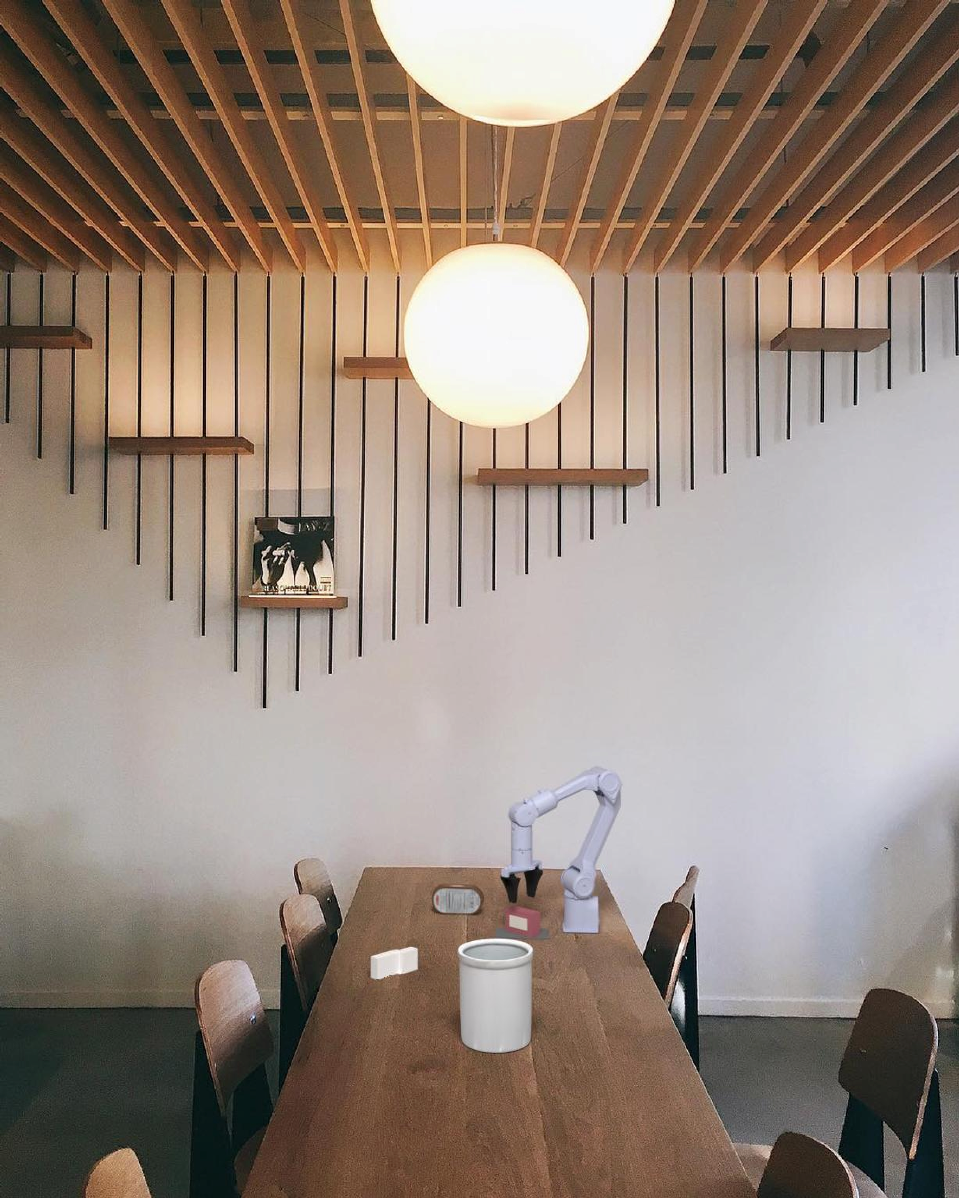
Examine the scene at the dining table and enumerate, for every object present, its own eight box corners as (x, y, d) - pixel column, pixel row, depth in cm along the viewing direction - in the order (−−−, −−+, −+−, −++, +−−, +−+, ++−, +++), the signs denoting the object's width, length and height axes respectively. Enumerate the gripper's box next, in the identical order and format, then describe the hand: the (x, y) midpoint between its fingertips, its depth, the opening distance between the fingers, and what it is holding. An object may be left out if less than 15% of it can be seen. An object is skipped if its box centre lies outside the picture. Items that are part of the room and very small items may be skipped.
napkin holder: (365, 985, 222) (365, 959, 222) (364, 968, 233) (365, 944, 234) (430, 982, 224) (430, 957, 224) (427, 966, 235) (427, 942, 235)
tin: (484, 913, 280) (484, 883, 280) (483, 916, 277) (483, 886, 277) (432, 911, 281) (432, 882, 282) (430, 914, 278) (430, 884, 279)
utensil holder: (446, 1030, 195) (446, 942, 196) (513, 1019, 201) (513, 933, 202) (475, 1060, 181) (475, 964, 182) (546, 1047, 187) (546, 954, 188)
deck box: (514, 927, 264) (514, 905, 264) (540, 934, 258) (540, 911, 258) (505, 930, 261) (505, 908, 261) (531, 937, 255) (531, 914, 255)
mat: (548, 930, 263) (548, 928, 263) (547, 939, 255) (547, 937, 255) (496, 928, 264) (496, 927, 264) (494, 937, 256) (494, 936, 256)
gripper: (515, 854, 253) (515, 907, 252) (550, 846, 263) (550, 896, 263) (495, 850, 257) (495, 902, 257) (530, 842, 268) (530, 892, 267)
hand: (521, 899), depth 260 cm, fingers open, 7 cm apart
